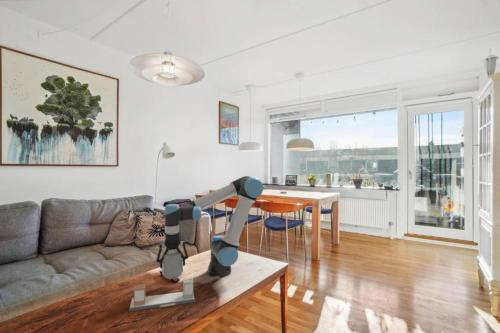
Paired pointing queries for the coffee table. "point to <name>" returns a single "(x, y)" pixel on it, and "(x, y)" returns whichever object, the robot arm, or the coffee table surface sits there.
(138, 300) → the clay box
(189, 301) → the shelf board
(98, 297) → the coffee table surface
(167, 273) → the beer can
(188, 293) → the sage box
